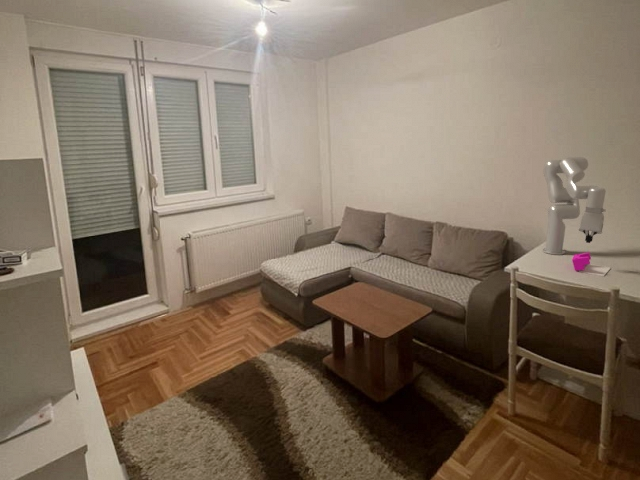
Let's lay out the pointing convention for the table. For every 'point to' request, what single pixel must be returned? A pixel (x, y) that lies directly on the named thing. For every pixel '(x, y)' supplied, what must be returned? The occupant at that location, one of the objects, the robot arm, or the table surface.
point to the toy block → (581, 261)
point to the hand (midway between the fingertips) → (588, 242)
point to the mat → (595, 269)
